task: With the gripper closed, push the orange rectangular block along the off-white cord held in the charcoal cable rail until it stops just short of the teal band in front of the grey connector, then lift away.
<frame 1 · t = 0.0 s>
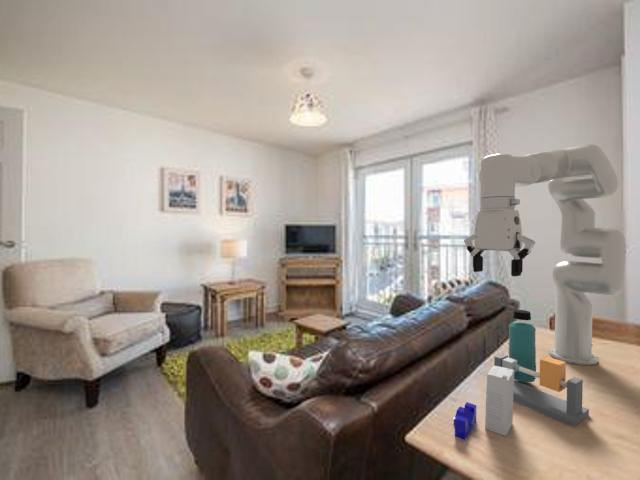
hand: (496, 273, 82), 31 cm above the table, tool pointing down, fingers open, 9 cm apart
cable holder: (462, 429, 70), on the table
orange rectangular block: (552, 373, 76), point 9 cm above the table, slide at 5.0 cm
beverage bottle: (521, 383, 90), on the table
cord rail: (534, 402, 80), on the table
skincare box: (499, 427, 70), on the table
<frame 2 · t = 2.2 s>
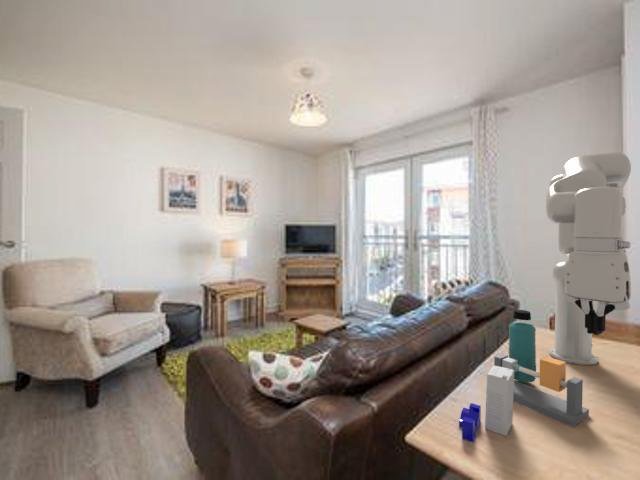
hand: (594, 333, 69), 20 cm above the table, tool pointing down, fingers closed
cable holder: (467, 430, 69), on the table
everything else where it was.
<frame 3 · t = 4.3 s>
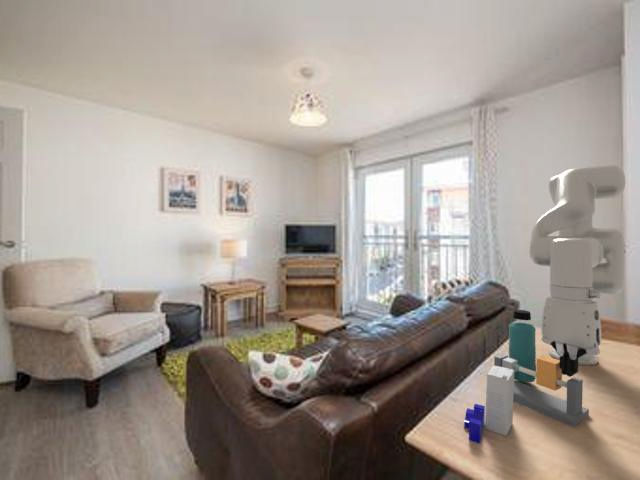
hand: (568, 373, 74), 10 cm above the table, tool pointing down, fingers closed
cable holder: (473, 431, 69), on the table
orange rectangular block: (549, 372, 77), point 9 cm above the table, slide at 4.3 cm, touching gripper
everything else where it was.
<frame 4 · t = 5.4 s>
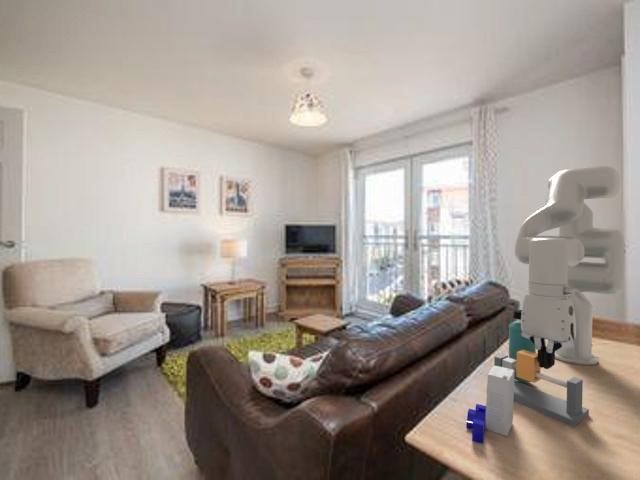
hand: (545, 366, 77), 10 cm above the table, tool pointing down, fingers closed
orange rectangular block: (528, 365, 81), point 8 cm above the table, slide at -0.3 cm, touching gripper
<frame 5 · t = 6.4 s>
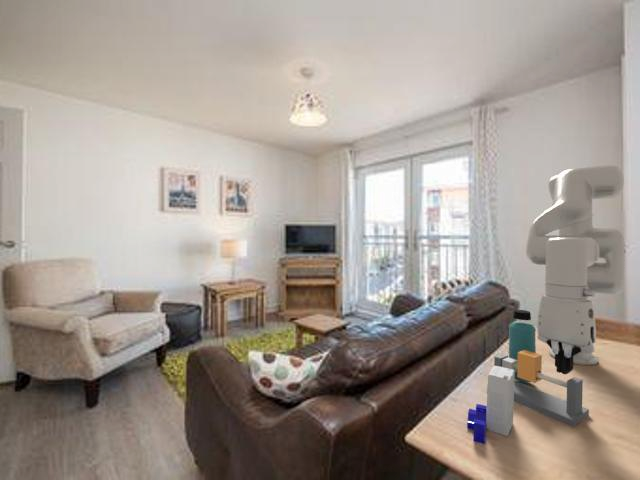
hand: (563, 371, 74), 10 cm above the table, tool pointing down, fingers closed
orange rectangular block: (529, 366, 81), point 9 cm above the table, slide at -0.1 cm
everything else where it was.
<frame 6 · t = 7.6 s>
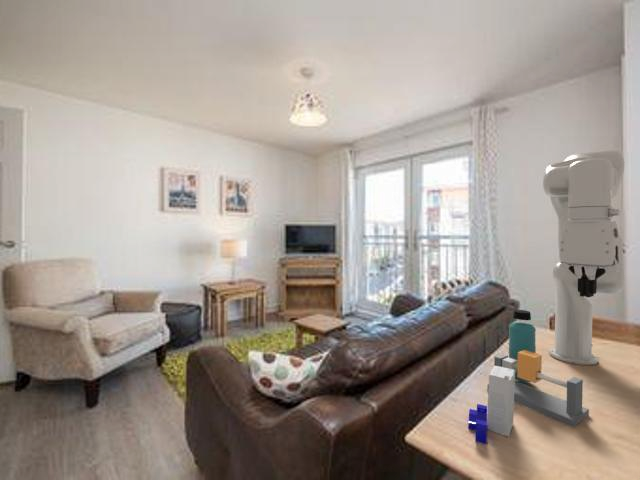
hand: (586, 295, 74), 27 cm above the table, tool pointing down, fingers closed
nothing on the table moved.
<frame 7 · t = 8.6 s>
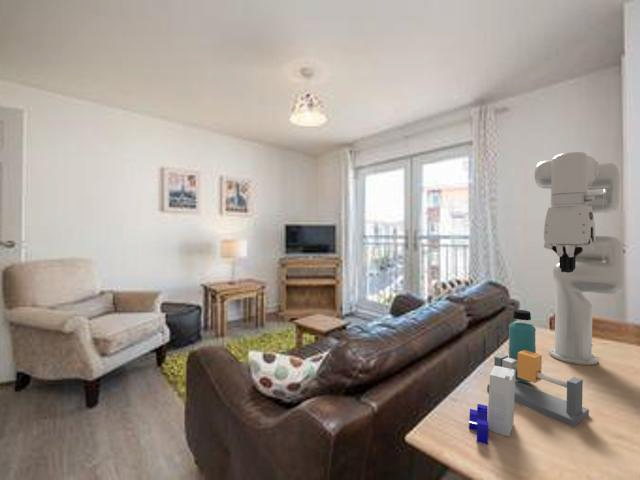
hand: (567, 271, 85), 31 cm above the table, tool pointing down, fingers closed
nothing on the table moved.
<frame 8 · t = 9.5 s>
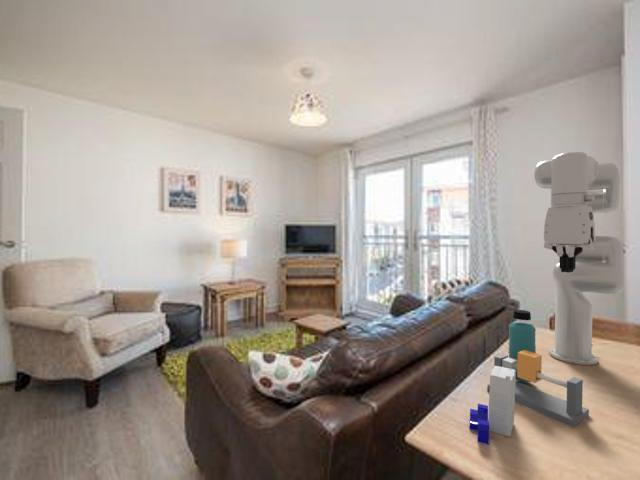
hand: (567, 271, 85), 31 cm above the table, tool pointing down, fingers closed
at the end: orange rectangular block slide at -0.1 cm; beverage bottle moved 0.2 cm from its start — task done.
